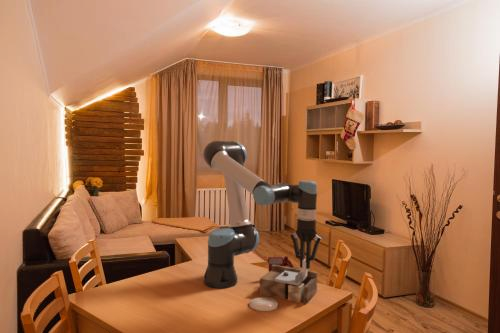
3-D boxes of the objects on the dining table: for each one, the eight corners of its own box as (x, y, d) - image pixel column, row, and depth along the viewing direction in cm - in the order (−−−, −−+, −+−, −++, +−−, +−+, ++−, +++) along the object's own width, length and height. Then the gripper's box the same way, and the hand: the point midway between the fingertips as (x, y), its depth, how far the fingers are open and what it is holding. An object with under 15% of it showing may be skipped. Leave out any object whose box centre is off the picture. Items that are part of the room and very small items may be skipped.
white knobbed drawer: (274, 281, 150) (275, 272, 149) (285, 272, 161) (285, 264, 160) (298, 285, 145) (298, 276, 145) (307, 276, 156) (307, 268, 156)
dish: (244, 307, 139) (244, 305, 139) (256, 297, 149) (256, 295, 149) (271, 313, 134) (271, 311, 134) (282, 302, 144) (282, 300, 144)
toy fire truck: (295, 280, 169) (296, 258, 169) (269, 281, 167) (269, 259, 167) (291, 275, 176) (292, 254, 175) (266, 276, 174) (266, 254, 174)
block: (287, 299, 147) (288, 285, 147) (292, 295, 152) (292, 281, 152) (299, 302, 145) (300, 287, 145) (303, 298, 150) (304, 283, 149)
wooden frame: (259, 293, 153) (260, 273, 152) (272, 283, 165) (273, 264, 165) (307, 303, 144) (307, 282, 143) (317, 291, 156) (317, 272, 156)
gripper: (288, 218, 149) (286, 275, 150) (319, 222, 143) (317, 281, 144) (294, 215, 155) (292, 270, 157) (324, 219, 150) (322, 275, 151)
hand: (304, 275), depth 150 cm, fingers closed
